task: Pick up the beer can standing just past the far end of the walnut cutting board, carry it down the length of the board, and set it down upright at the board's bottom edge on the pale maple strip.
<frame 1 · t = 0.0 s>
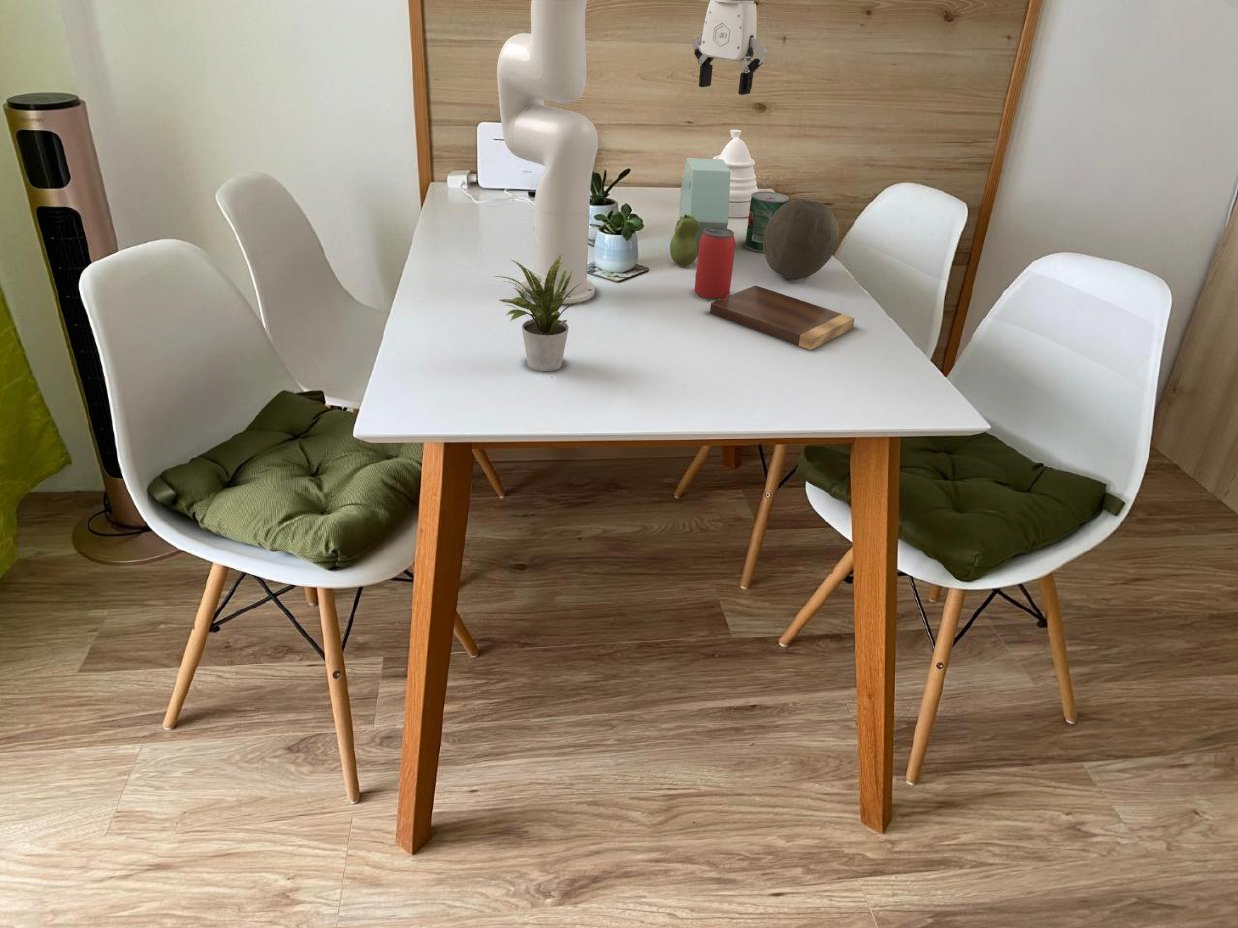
hand: (724, 90, 180), 31 cm above the table, tool pointing down, fingers open, 9 cm apart
pale green tall block: (699, 247, 194), on the table
beer can: (711, 295, 170), on the table
cutting board: (780, 321, 161), on the table
brown coconut: (794, 277, 181), on the table
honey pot: (729, 210, 221), on the table
canned tomato: (762, 248, 197), on the table
pear: (682, 265, 184), on the table
house plant: (542, 361, 141), on the table
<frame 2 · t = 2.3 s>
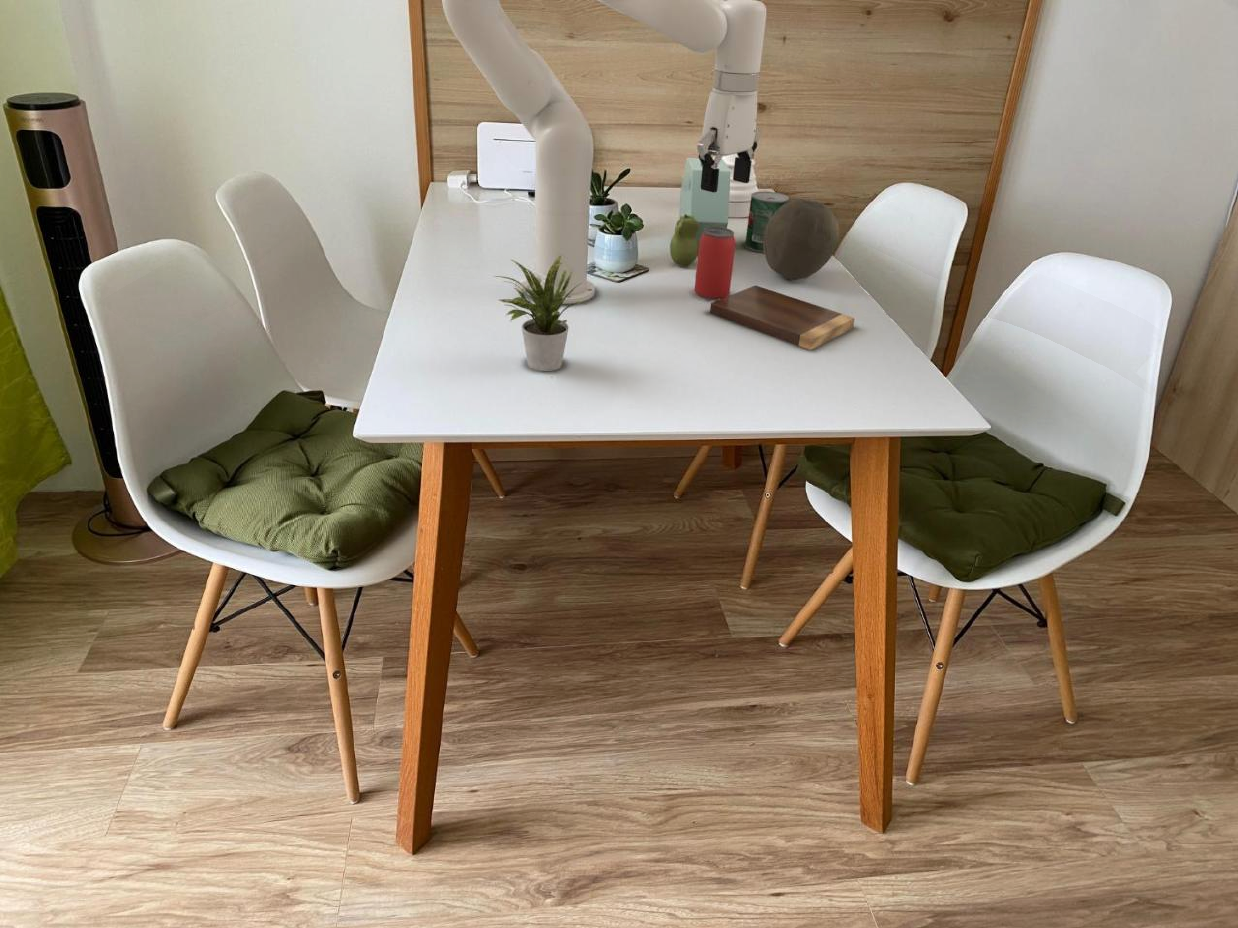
hand: (725, 186, 161), 20 cm above the table, tool pointing down, fingers open, 9 cm apart
nothing on the table moved.
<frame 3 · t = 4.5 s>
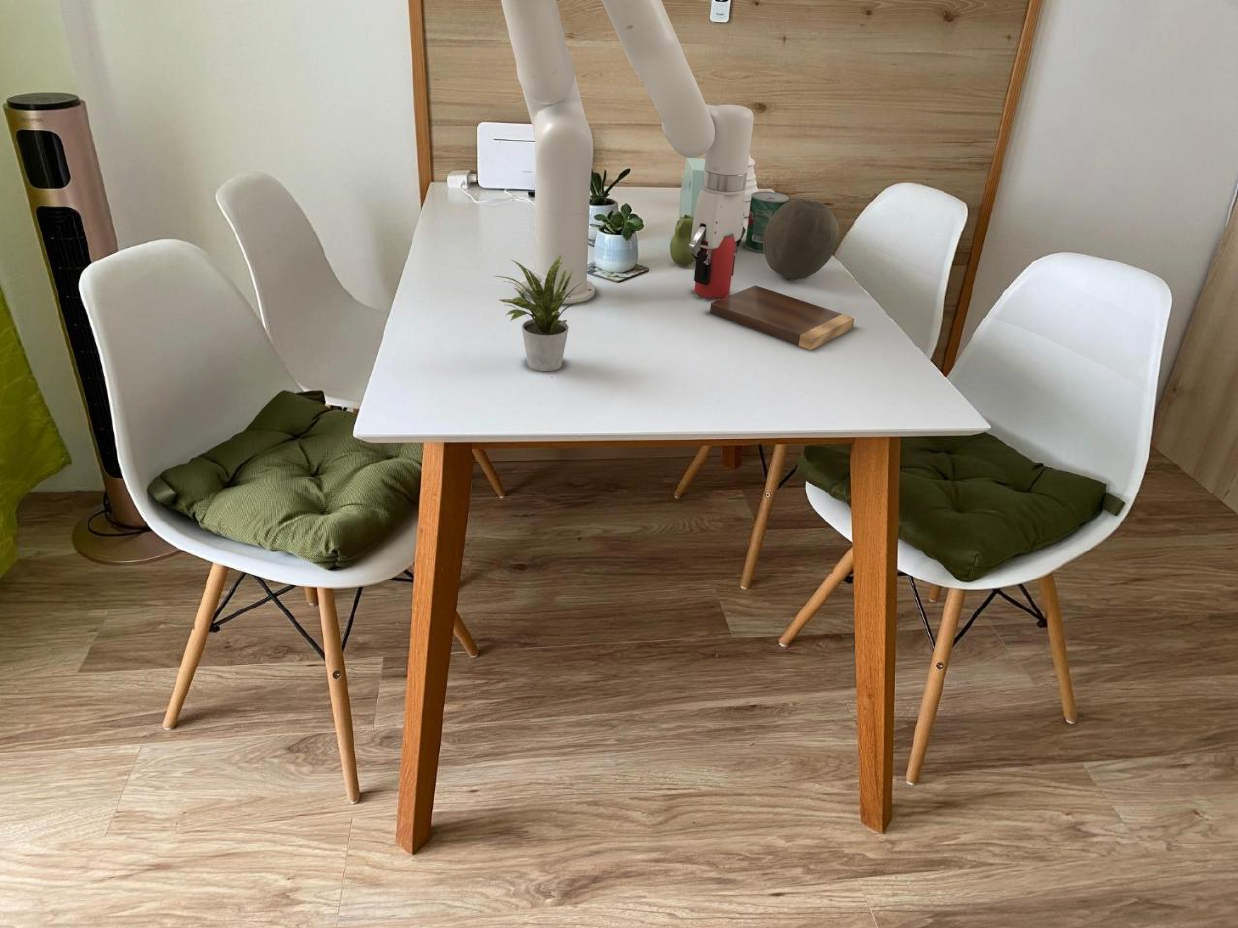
hand: (713, 278, 169), 3 cm above the table, tool pointing down, fingers closed on beer can, 6 cm apart
beer can: (711, 295, 170), on the table, touching gripper
everything else where it was.
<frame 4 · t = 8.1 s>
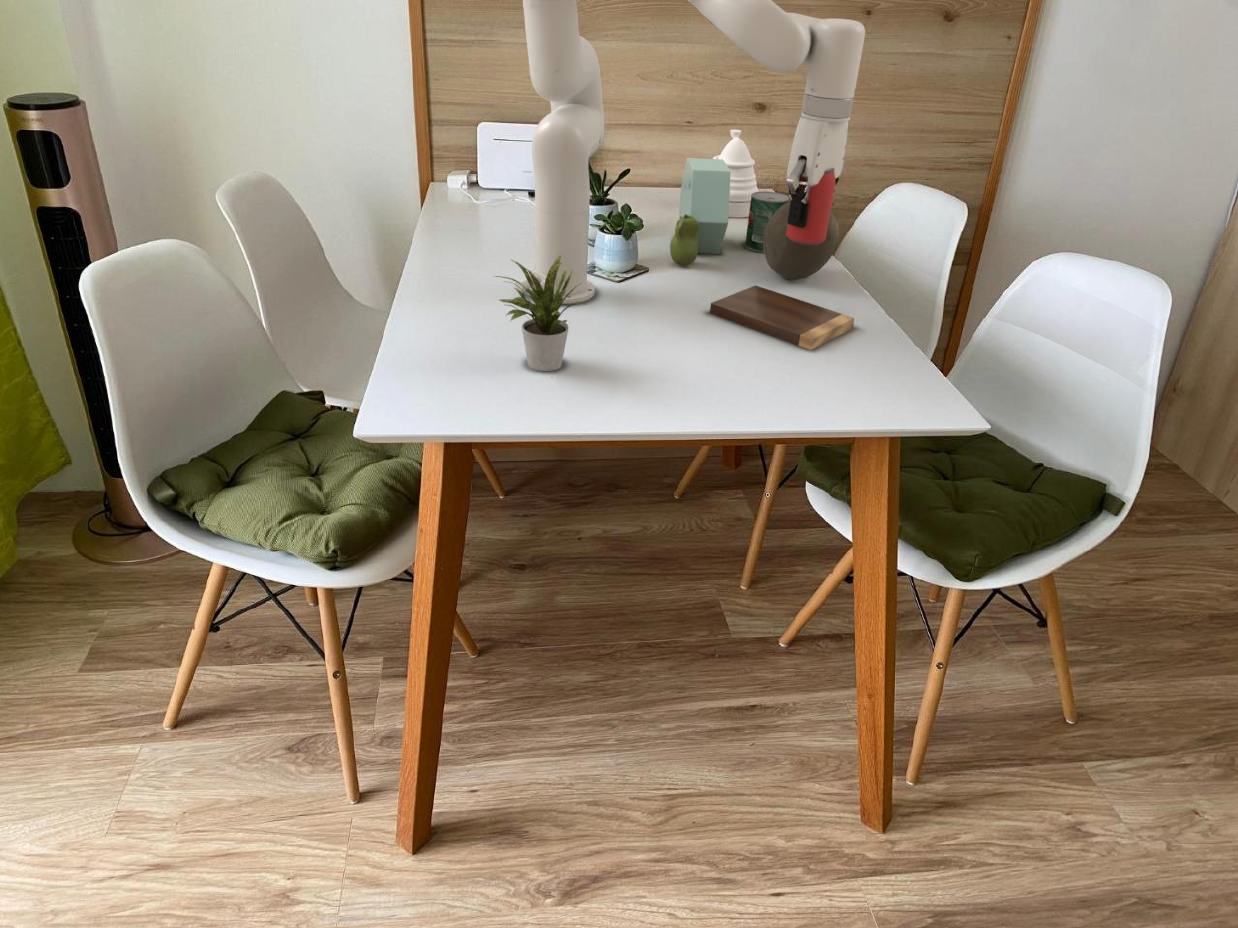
hand: (808, 221, 150), 18 cm above the table, tool pointing down, fingers closed on beer can, 6 cm apart
beer can: (805, 241, 152), point 15 cm above the table, touching gripper
everything else where it was.
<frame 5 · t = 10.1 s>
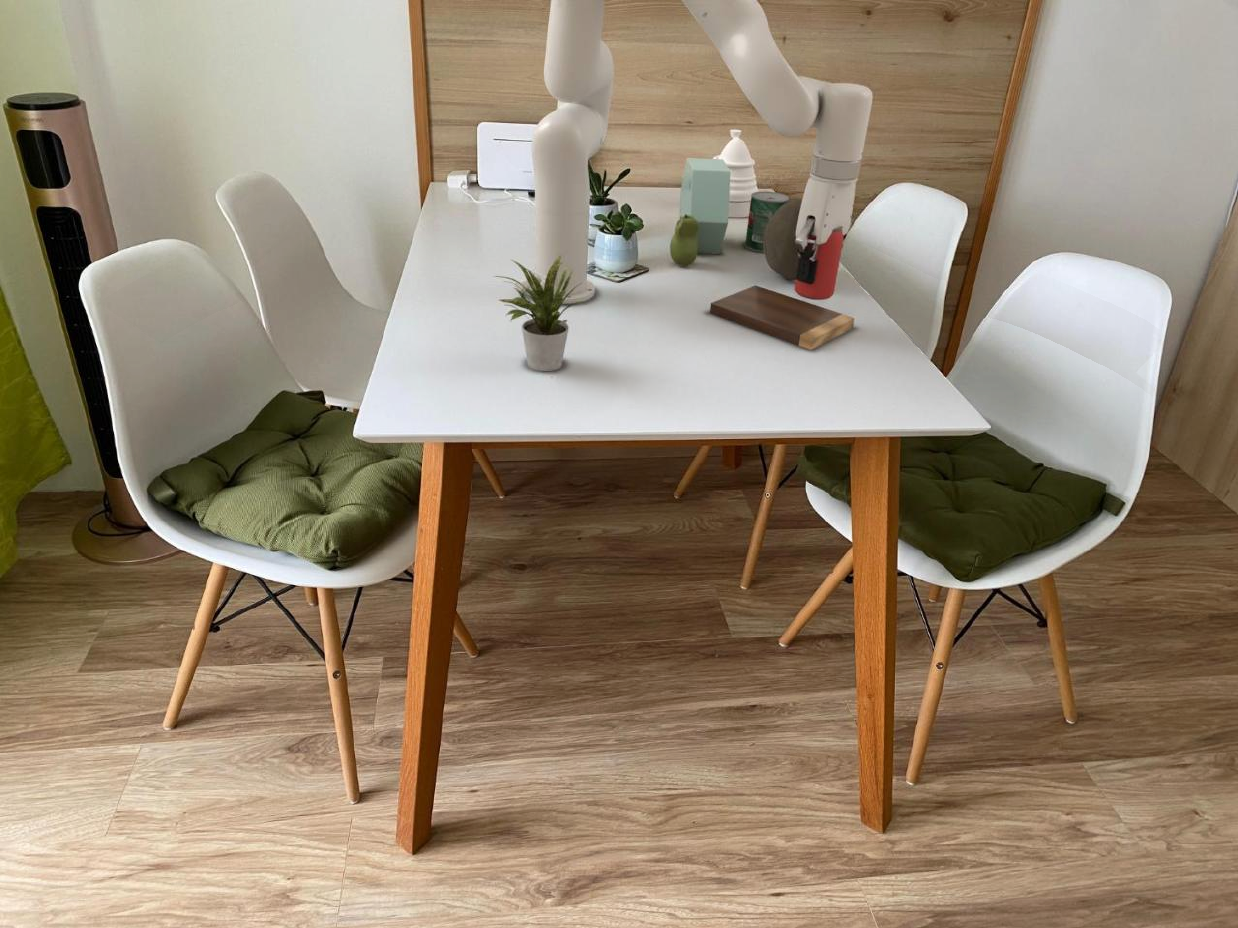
hand: (816, 276, 153), 10 cm above the table, tool pointing down, fingers closed on beer can, 6 cm apart
beer can: (813, 295, 154), point 6 cm above the table, touching gripper
everything else where it was.
when the fingers open (5 cm above the table, at t = 11.7 s): beer can stays where it is, resting on cutting board.
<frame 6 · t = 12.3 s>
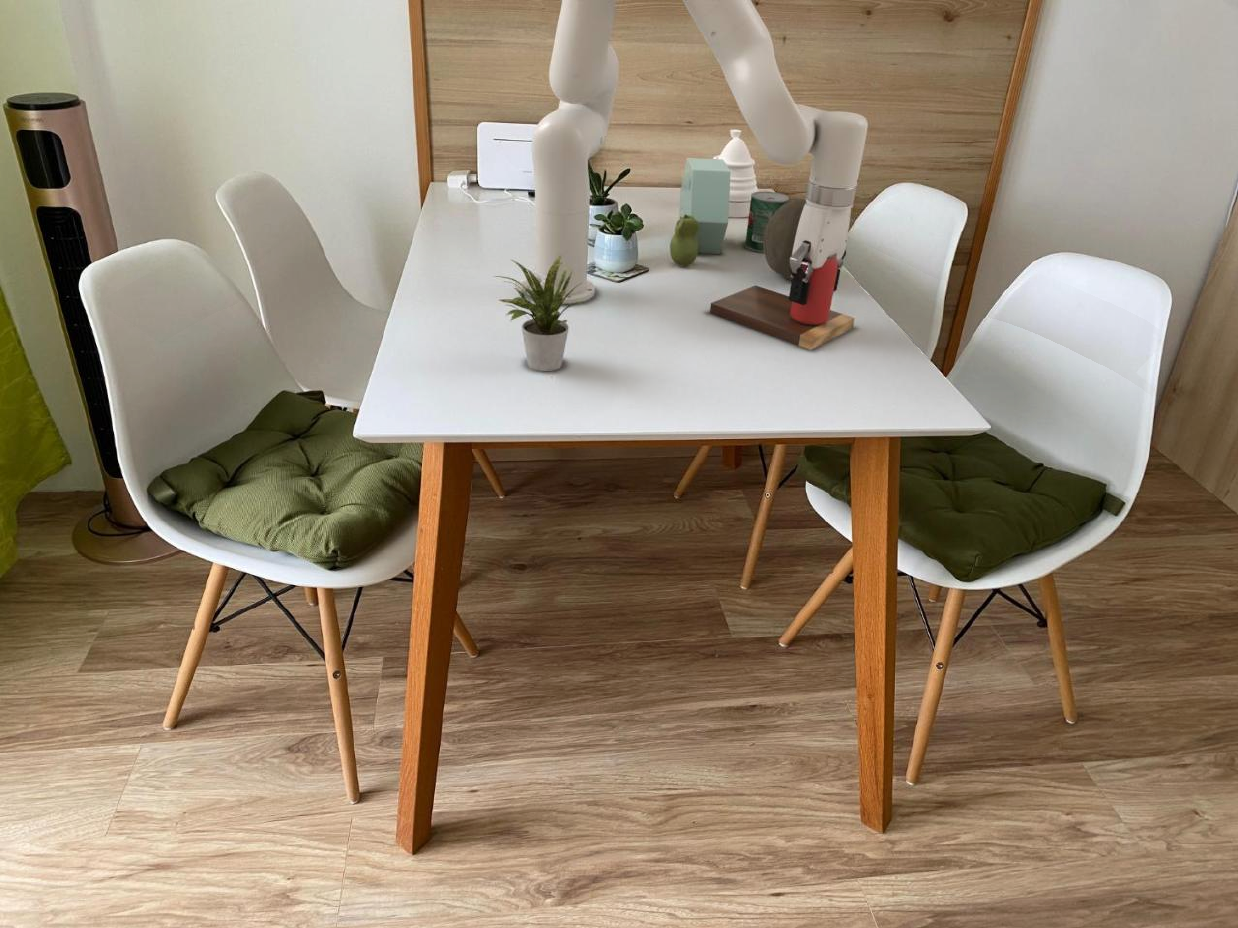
hand: (812, 295, 154), 6 cm above the table, tool pointing down, fingers open, 9 cm apart
beer can: (808, 320, 157), point 2 cm above the table, touching cutting board
everything else where it was.
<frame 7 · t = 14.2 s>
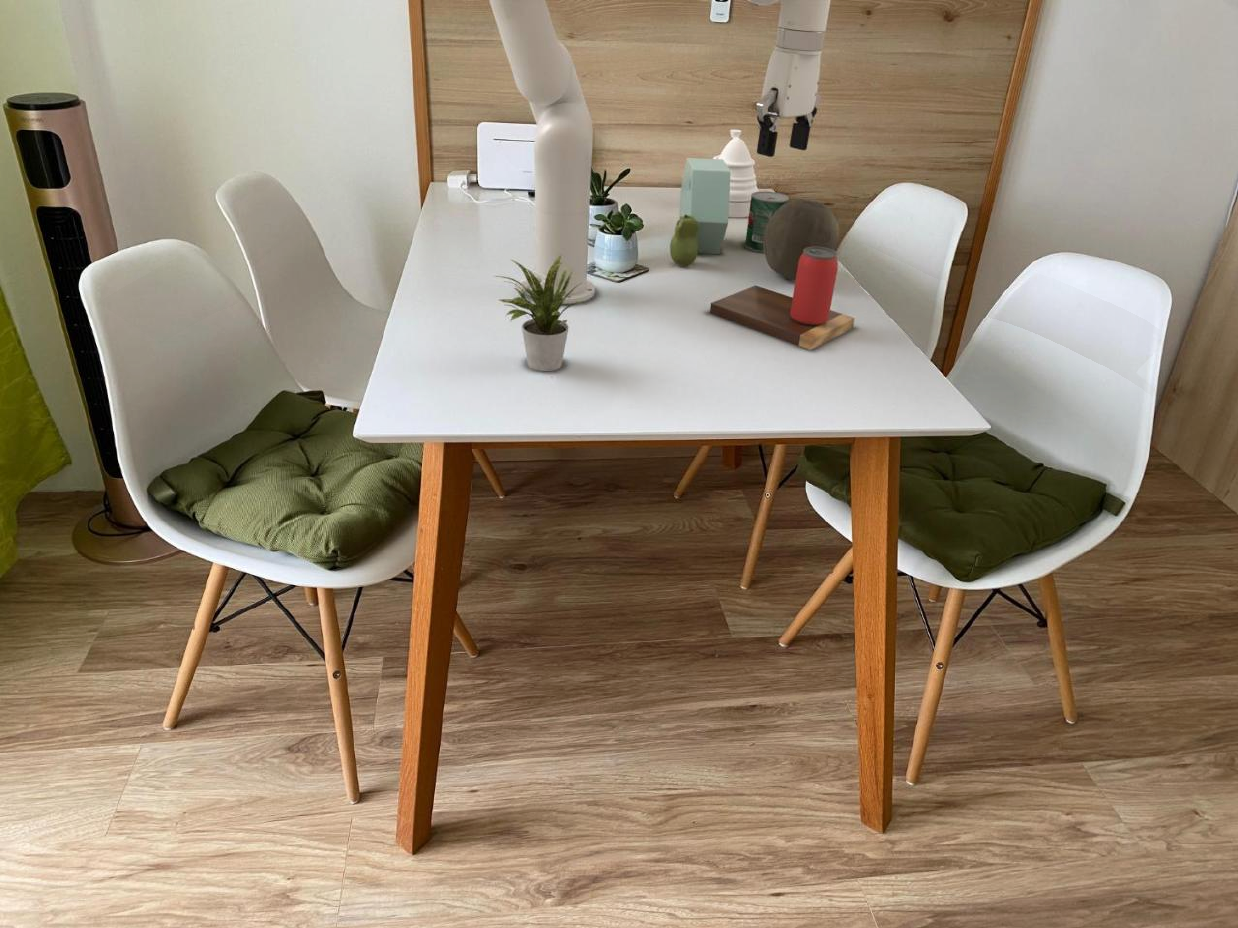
hand: (781, 152, 154), 27 cm above the table, tool pointing down, fingers open, 9 cm apart
nothing on the table moved.
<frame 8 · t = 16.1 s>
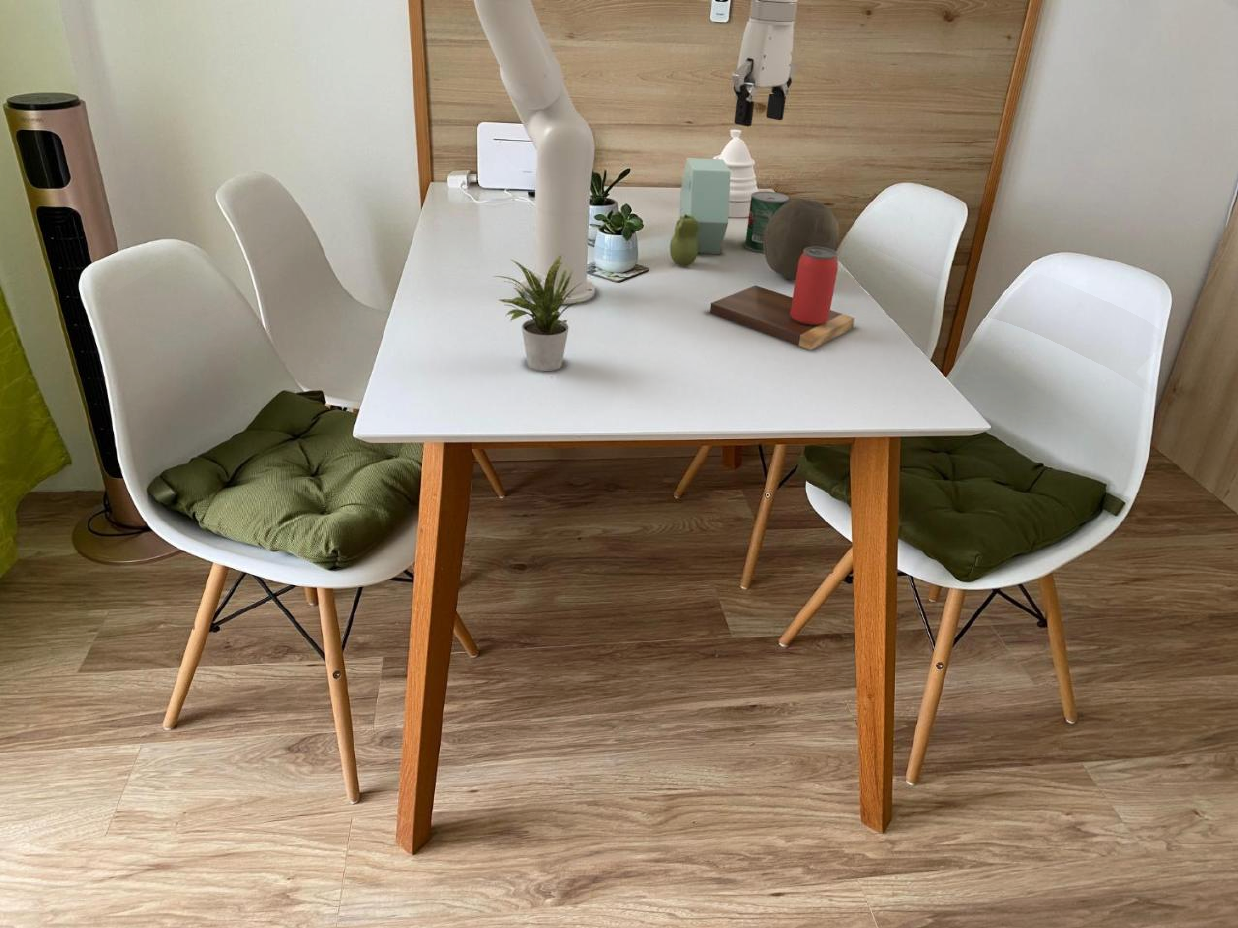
hand: (758, 122, 159), 30 cm above the table, tool pointing down, fingers open, 9 cm apart
nothing on the table moved.
at the end: beer can inside the target area on the cutting board (0.3 cm from its centre), point 1.8 cm above the cutting board's base; beer can tilted 0°; the gripper is holding nothing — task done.
